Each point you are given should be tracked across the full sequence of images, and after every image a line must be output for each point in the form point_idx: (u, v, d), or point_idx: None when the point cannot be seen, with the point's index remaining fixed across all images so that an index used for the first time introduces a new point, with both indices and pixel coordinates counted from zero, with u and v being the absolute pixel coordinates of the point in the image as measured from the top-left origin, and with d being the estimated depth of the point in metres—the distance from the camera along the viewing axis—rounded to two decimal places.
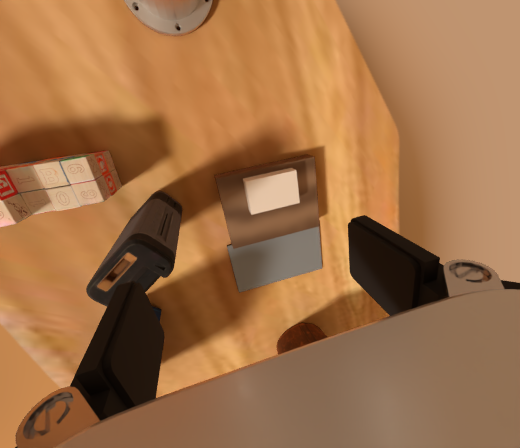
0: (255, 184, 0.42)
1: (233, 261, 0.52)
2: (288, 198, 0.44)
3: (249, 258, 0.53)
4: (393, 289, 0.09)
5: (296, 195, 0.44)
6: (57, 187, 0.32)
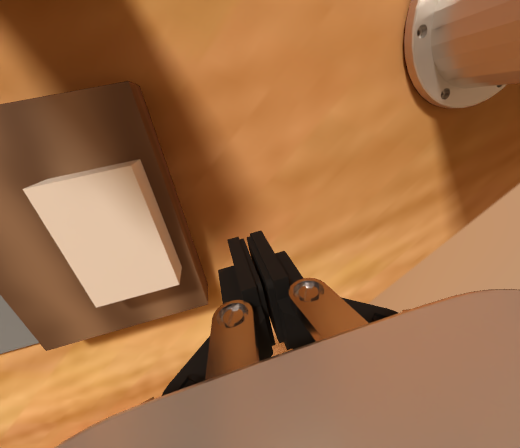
0: (126, 193, 0.15)
1: None
2: (102, 281, 0.17)
3: None
4: (268, 303, 0.09)
5: (115, 296, 0.18)
6: None
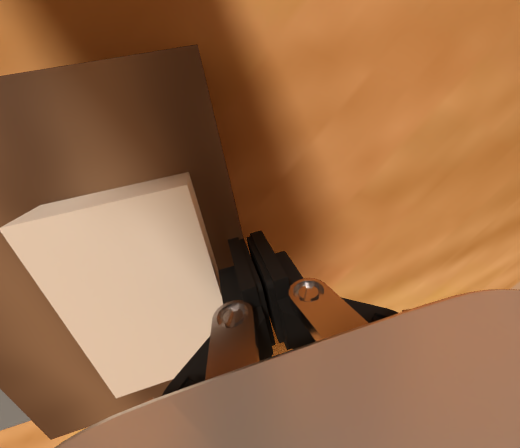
0: (175, 229, 0.09)
1: None
2: (128, 361, 0.11)
3: None
4: (268, 303, 0.09)
5: (145, 380, 0.12)
6: None
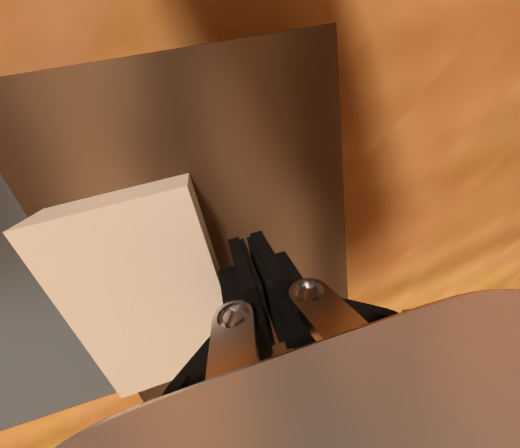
0: (176, 231, 0.09)
1: None
2: (132, 362, 0.11)
3: None
4: (268, 303, 0.09)
5: (150, 380, 0.12)
6: None
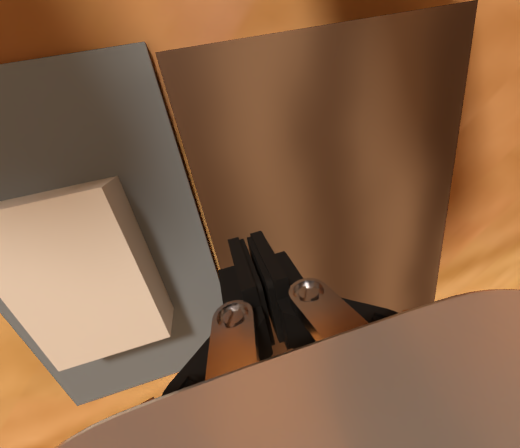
0: None
1: (57, 69, 0.11)
2: None
3: (85, 152, 0.12)
4: (268, 303, 0.09)
5: None
6: None
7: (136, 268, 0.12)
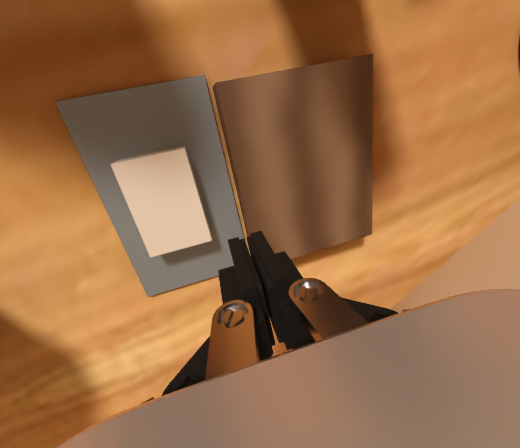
0: None
1: (161, 89, 0.21)
2: None
3: (170, 132, 0.23)
4: (268, 303, 0.09)
5: None
6: None
7: (197, 195, 0.23)
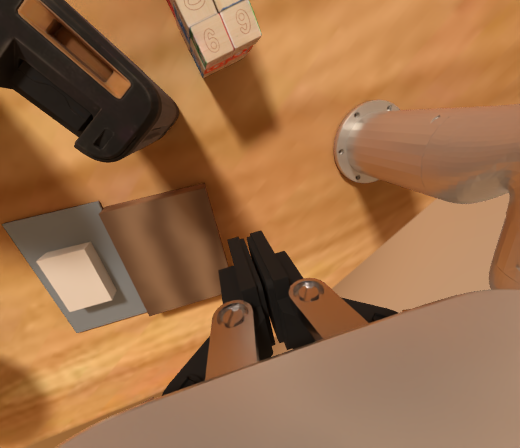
0: None
1: (70, 212, 0.34)
2: None
3: (79, 234, 0.35)
4: (268, 303, 0.09)
5: None
6: None
7: (97, 274, 0.36)
